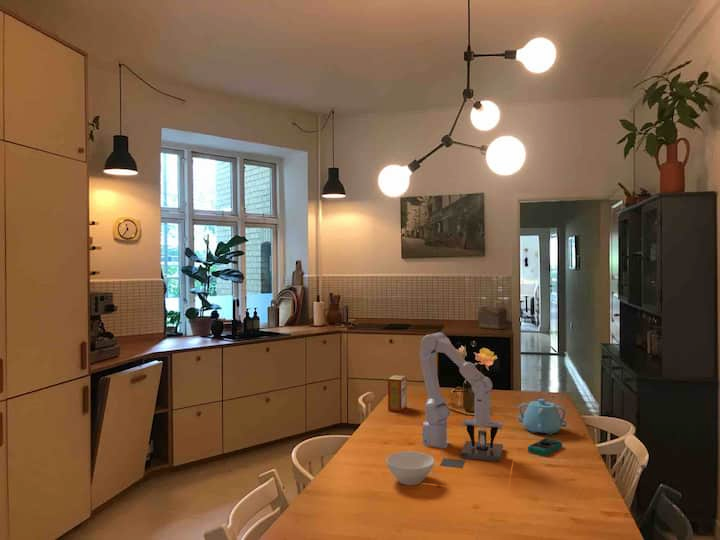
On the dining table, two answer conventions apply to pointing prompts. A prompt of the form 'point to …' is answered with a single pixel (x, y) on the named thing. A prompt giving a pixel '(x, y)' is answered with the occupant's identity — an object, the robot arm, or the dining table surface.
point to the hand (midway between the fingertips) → (482, 446)
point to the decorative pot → (542, 417)
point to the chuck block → (482, 452)
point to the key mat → (452, 463)
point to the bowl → (410, 466)
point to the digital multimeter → (545, 447)
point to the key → (482, 440)
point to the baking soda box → (396, 393)
